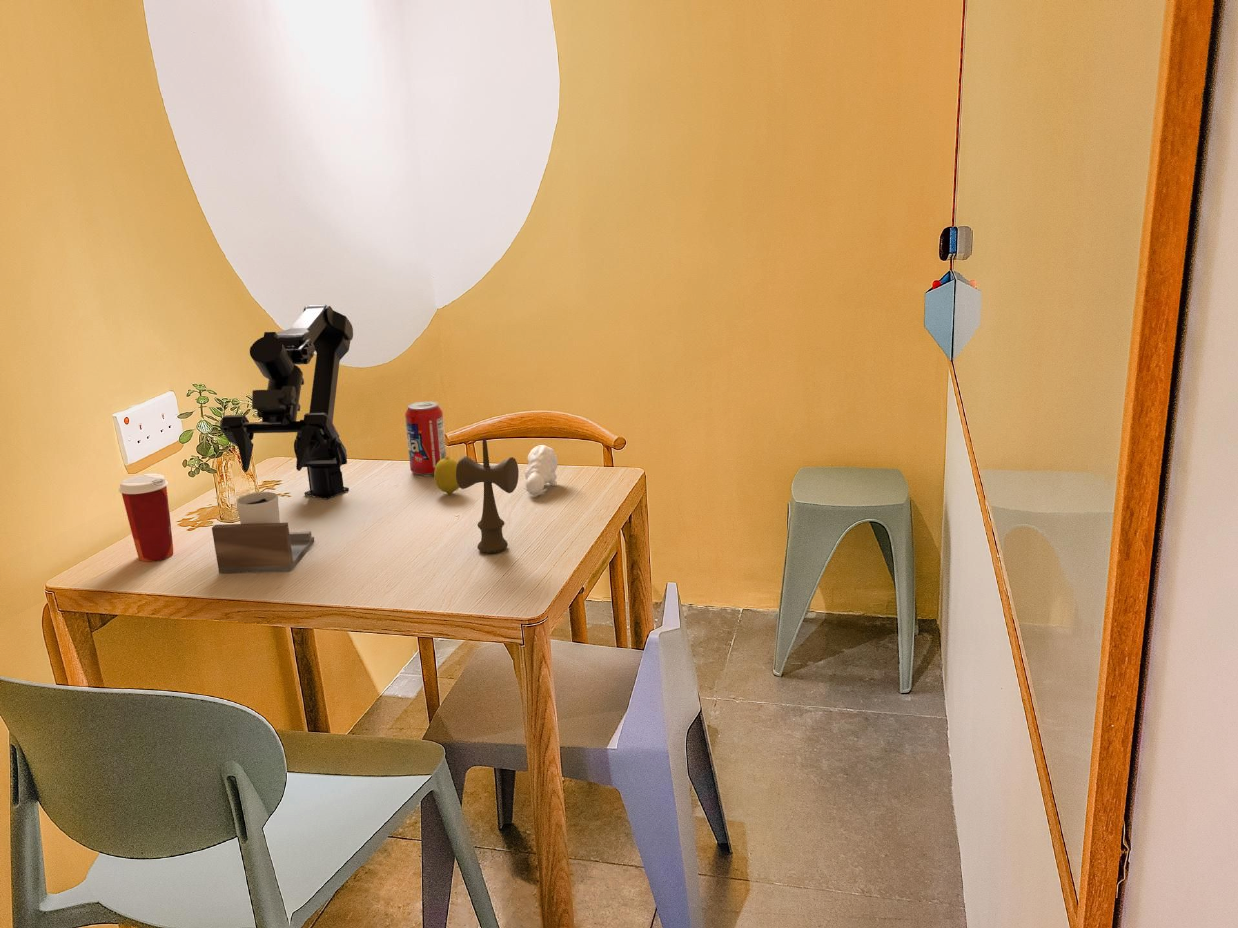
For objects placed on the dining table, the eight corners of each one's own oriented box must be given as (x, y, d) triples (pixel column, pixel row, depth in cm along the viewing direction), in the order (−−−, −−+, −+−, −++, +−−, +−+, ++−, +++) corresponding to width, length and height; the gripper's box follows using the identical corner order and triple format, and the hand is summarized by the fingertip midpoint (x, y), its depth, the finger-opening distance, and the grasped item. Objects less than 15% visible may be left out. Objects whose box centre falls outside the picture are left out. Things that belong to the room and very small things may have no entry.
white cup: (250, 547, 173) (241, 493, 171) (289, 545, 174) (281, 490, 171) (239, 562, 167) (231, 505, 164) (280, 559, 168) (272, 503, 165)
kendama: (512, 558, 167) (504, 443, 162) (459, 554, 170) (449, 441, 164) (525, 545, 173) (518, 433, 167) (474, 541, 176) (465, 431, 170)
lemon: (466, 490, 203) (463, 452, 201) (459, 499, 198) (456, 460, 195) (440, 490, 204) (436, 452, 201) (432, 499, 198) (429, 460, 196)
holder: (247, 544, 178) (240, 501, 176) (314, 542, 178) (308, 499, 176) (219, 573, 166) (211, 527, 163) (291, 571, 165) (284, 525, 163)
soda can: (450, 474, 214) (444, 406, 209) (413, 479, 211) (407, 410, 207) (444, 465, 221) (438, 398, 216) (408, 469, 218) (401, 402, 214)
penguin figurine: (558, 442, 204) (546, 464, 193) (561, 479, 207) (549, 503, 196) (528, 441, 205) (515, 463, 194) (532, 479, 208) (518, 502, 197)
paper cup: (189, 549, 176) (176, 474, 172) (157, 566, 169) (143, 487, 165) (154, 545, 179) (140, 471, 175) (121, 561, 172) (106, 484, 168)
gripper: (215, 371, 174) (200, 449, 167) (322, 368, 174) (312, 446, 167) (237, 404, 184) (224, 479, 177) (339, 401, 184) (330, 477, 177)
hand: (271, 470), depth 174 cm, fingers open, 9 cm apart
